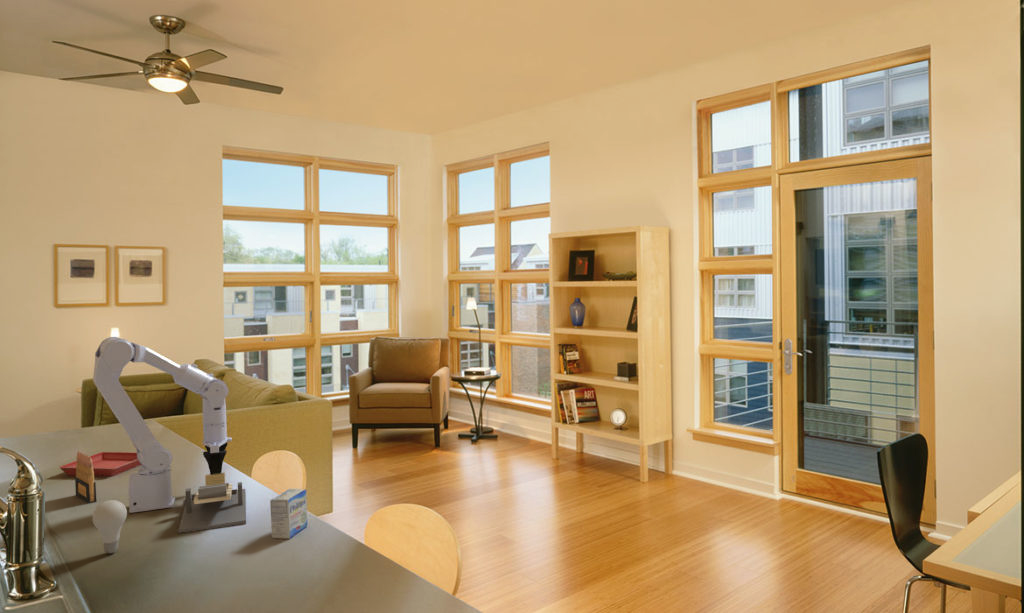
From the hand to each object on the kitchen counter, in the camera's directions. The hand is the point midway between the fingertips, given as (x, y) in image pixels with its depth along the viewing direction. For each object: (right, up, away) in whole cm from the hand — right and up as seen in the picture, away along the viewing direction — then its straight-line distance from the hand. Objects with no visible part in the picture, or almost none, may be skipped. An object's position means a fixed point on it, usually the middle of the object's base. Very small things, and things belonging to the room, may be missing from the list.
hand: (216, 473), depth 174 cm
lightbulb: (-4, -7, -39) cm, 40 cm away
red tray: (-45, -6, +26) cm, 53 cm away
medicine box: (+30, -6, -29) cm, 42 cm away
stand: (+6, -6, -14) cm, 16 cm away
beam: (+6, -2, -14) cm, 15 cm away
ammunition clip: (-34, -6, -2) cm, 34 cm away
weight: (+3, -2, -8) cm, 9 cm away
